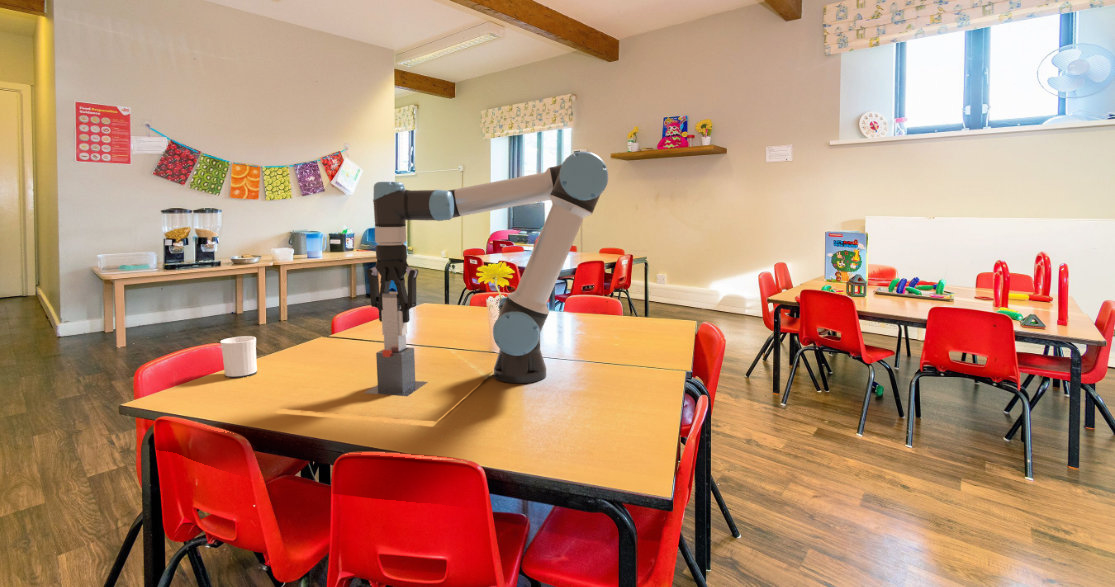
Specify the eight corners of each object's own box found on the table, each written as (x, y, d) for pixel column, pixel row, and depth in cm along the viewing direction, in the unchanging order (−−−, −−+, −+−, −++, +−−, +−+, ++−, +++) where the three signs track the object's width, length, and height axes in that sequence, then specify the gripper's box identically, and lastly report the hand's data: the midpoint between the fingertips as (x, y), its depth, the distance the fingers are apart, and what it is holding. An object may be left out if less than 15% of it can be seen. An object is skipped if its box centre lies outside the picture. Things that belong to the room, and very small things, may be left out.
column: (407, 377, 144) (404, 292, 141) (400, 382, 140) (396, 294, 137) (393, 376, 145) (390, 291, 142) (385, 381, 141) (382, 293, 138)
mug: (264, 373, 159) (262, 338, 157) (233, 380, 151) (230, 344, 150) (244, 367, 164) (242, 334, 163) (213, 374, 157) (210, 339, 156)
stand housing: (428, 385, 147) (426, 342, 146) (407, 400, 136) (405, 353, 134) (387, 382, 150) (386, 340, 148) (364, 396, 138) (361, 350, 137)
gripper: (428, 243, 139) (431, 332, 143) (368, 242, 143) (372, 330, 146) (415, 245, 132) (419, 339, 135) (352, 244, 135) (357, 336, 139)
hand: (394, 334), depth 141 cm, fingers closed on column, 4 cm apart
